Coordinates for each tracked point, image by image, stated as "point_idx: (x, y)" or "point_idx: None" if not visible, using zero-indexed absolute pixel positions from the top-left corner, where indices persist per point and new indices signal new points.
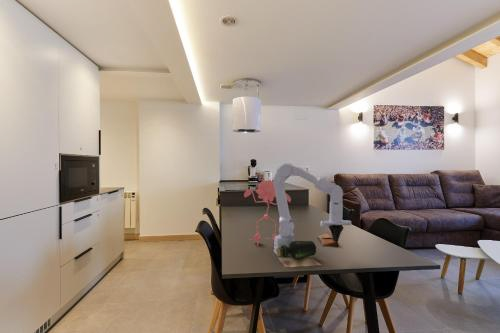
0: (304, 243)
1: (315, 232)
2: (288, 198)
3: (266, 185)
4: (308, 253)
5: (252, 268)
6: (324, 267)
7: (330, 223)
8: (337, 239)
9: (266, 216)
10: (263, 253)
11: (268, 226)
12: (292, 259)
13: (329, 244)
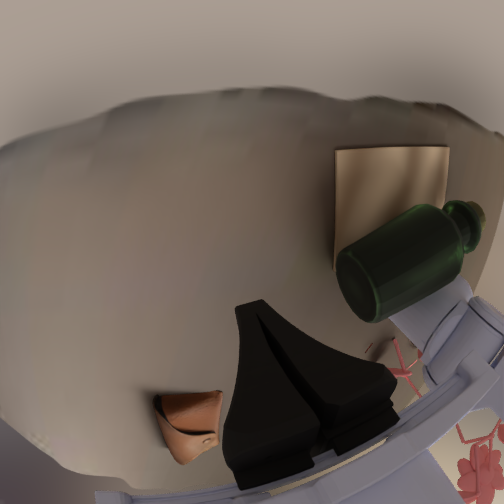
0: (432, 262)
1: (209, 462)
2: None
3: (494, 482)
4: (389, 226)
5: (490, 159)
6: (326, 120)
7: (454, 410)
8: (251, 315)
9: None
10: None
11: None
12: None
13: (193, 401)
